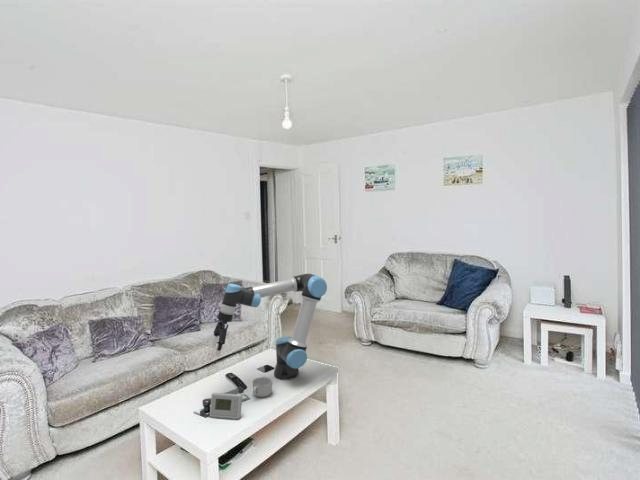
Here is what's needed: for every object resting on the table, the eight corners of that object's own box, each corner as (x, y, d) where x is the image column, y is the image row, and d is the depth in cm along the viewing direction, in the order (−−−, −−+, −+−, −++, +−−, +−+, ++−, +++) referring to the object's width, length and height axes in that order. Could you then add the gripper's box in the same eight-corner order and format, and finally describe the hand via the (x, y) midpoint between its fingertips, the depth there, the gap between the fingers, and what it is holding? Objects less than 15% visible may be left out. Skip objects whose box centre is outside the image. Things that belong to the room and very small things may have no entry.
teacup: (262, 388, 208) (262, 374, 208) (276, 393, 202) (276, 379, 201) (244, 398, 197) (244, 384, 196) (258, 404, 191) (258, 389, 190)
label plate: (244, 394, 201) (244, 393, 201) (250, 398, 196) (250, 397, 196) (231, 400, 195) (231, 398, 195) (237, 404, 191) (236, 402, 191)
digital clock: (207, 417, 179) (206, 396, 178) (219, 408, 187) (218, 388, 187) (235, 423, 173) (234, 402, 172) (246, 414, 181) (245, 393, 181)
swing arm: (204, 407, 180) (204, 403, 180) (201, 404, 183) (201, 400, 183) (244, 392, 195) (244, 388, 194) (240, 390, 198) (240, 386, 198)
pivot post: (210, 407, 188) (210, 400, 188) (216, 412, 183) (216, 405, 183) (197, 412, 184) (197, 404, 183) (203, 418, 178) (203, 410, 178)
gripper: (215, 306, 204) (204, 343, 202) (223, 316, 181) (210, 358, 179) (228, 309, 207) (217, 345, 205) (238, 319, 184) (225, 361, 183)
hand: (214, 351), depth 192 cm, fingers open, 13 cm apart
